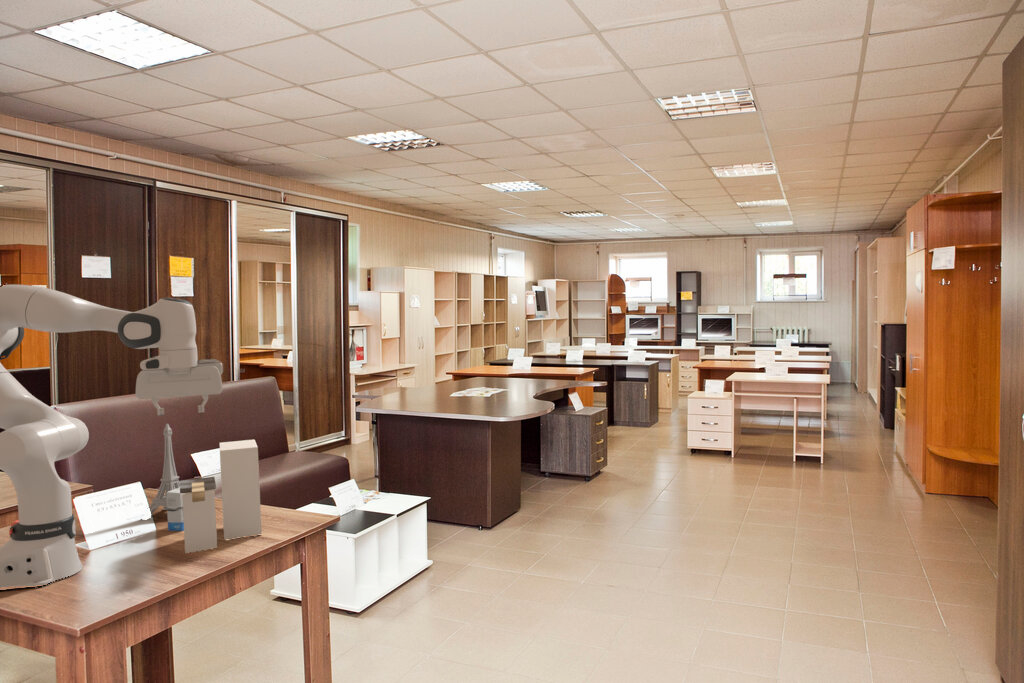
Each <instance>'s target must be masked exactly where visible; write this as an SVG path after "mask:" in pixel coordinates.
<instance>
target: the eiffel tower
mask: <svg viewBox="0 0 1024 683" xmlns="http://www.w3.org/2000/svg"><path fill="white" fill-rule="evenodd" d="M172 430H173V429H172V428H171V427H170V424H169V423H166V424H165V427H164V428H163V433H162V436H164V458H163V459H164V460H163V469H162V477H161V478H160V480H159V481H161V483H160V485H159V489H158V491H157V493H156V495H155V498H151V501H152V502H151V503H150V505H149V506H148V508H150V511H151V514H152V515H153V514H154V512H155V511H156V510H157V509H158V508H159V507H163V508H162V509H161V511H162V510H167V494H166V493H167V492H168V491H171V490H174V489H176V488H179V487H180V480H179V479H180V476H179V475H178V472H177V470H176V463H175V459H174V452H173V442H172V435H173V431H172Z"/></svg>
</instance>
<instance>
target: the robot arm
mask: <svg viewBox="0 0 1024 683" xmlns="http://www.w3.org/2000/svg"><path fill="white" fill-rule="evenodd" d="M195 313H196V312H195V309H194V305H193V304H192V303H191V302H190V301H189V300H186V299H182V298H173V297H162V298H160V299H159V300H157V301H156V302H155V303H154V304H152V305H150V306H148V307H146V308H143V309H140V310H136V311H129V310H125V309H118V308H115V307H109V306H104V305H101V304H98V303H95V302H92V301H88V300H86V299H83V298H80V297H77V296H74V295H72V294H68V293H66V292H64V291H59V290H56V289H52V288H47V287H43V286H36V285H28V284H6V285H3V286H0V361H1V360H5V359H7V358H8V357H9V356H10V355H11V353H12V352H13V351H14V350H16V349H17V348H18V347H19V346H20V344H21V343H22V342H23V339H24V337H25V329H28V330H33V331H38V332H45V333H60V334H61V333H77V332H87V331H104V332H112V333H117V336H118V338H119V340H120V341H121V343H122V344H123V345H125V346H126V347H127V348H131V349H135V350H137V349H138V350H145V349H157V348H158V349H159V350H158V352H159V354H158V355H156V356H155V355H154V356H152V357H150V358H148V359H144V360H142V361H140V364H139V367H140V369H141V371H139V373H138V374H137V377H136V382H135V397H136V398H138V400H145V399H146V400H148V399H150V400H151V403H152V405H153V406H154V408H156V409H155V410H156V411H157V412H156V413H157V415H156V416H157V417H159V416H165V407H161V406H160V405H159V404H158V403H159V402H160V401H159V399H164V398H177V397H178V398H179V397H192V396H193V397H195V396H202V399H203V401H202V403H201V405H199V404H198V405H197V409H198V410H197V411H198V412H197V413H198V414H199V413H201V414H202V413H205V406H206V404H207V402H208V401H209V396H210V395H220V394H221V393H222V392H223V390H224V389H223V381H222V375H223V372H224V364H223V363H222V361H220V360H217V358H210V359H198V358H199V357H198V356H199V355H198V346H197V343H196V335H197V323H196V322H197V320H196V314H195ZM0 429H3V431H1V432H0V470H1V471H2V472H4V473H5V474H6V475H7V476H8V478H9V479H10V481H11V483H12V485H13V487H14V490H15V493H16V499H17V511H18V519H16V520H14V521H13V522H12V523H11V526H10V527H9V530H8V532H9V533H8V535H9V537H10V539H9V540H8V541H6V542H5V543H4V544H3V545H1V546H0V588H1V587H9V586H36V585H45V584H47V583H50V582H52V581H54V582H56V581H55V580H57V579H60V580H62V579H61V578H63V579H66V578H69V577H71V576H73V575H75V574H77V573H79V572H80V571H81V570H83V566H84V565H83V564H82V562H81V559H80V555H79V553H78V549H77V545H76V538H75V536H76V530H77V528H76V518H75V514H74V513H73V510H72V509H73V505H72V489H71V486H70V483H69V482H68V481H66V480H65V479H63V478H61V477H60V476H59V474H58V472H57V470H56V467H55V462H57V461H61V460H62V461H63V460H65V459H68V458H70V457H72V456H74V455H75V454H77V453H79V452H80V451H81V450H83V449H84V448H85V447H86V446H87V444H88V442H89V438H90V433H89V429H88V427H87V425H86V424H85V422H83V421H82V420H81V419H79V418H76V417H72V416H69V415H67V414H64V413H62V412H59V411H58V410H57V409H55V408H52V407H51V406H49V405H48V404H46V403H44V402H43V401H42V400H40V399H38V398H37V397H35V395H32V393H30V391H28V389H26V387H24V386H23V385H22V384H21V383H20V382H19V380H17V379H16V377H14V376H13V374H11V373H10V372H9V370H7V369H6V368H5V367H4V365H3V364H2V363H1V362H0ZM68 576H69V577H68ZM65 577H66V578H65ZM57 581H58V580H57ZM52 583H53V582H52ZM50 584H51V583H50Z"/></svg>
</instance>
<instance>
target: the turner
mask: <svg viewBox="0 0 1024 683" xmlns="http://www.w3.org/2000/svg"><path fill="white" fill-rule="evenodd" d="M215 478H216V477H215V476H208V477H201V478H190V479H181V480H179V482H180V493H188V492H192V502H199V501H205V490H212V489H214V490H217V484H216V479H215Z"/></svg>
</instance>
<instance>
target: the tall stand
mask: <svg viewBox="0 0 1024 683" xmlns="http://www.w3.org/2000/svg"><path fill="white" fill-rule="evenodd" d="M219 458H220V459H219V460H220V463H219V464H220V482H221V484H220V485H221V486H220V487H221V503H222V504H221V505H222V509H221V510H222V526H223V527H222V530H223V537H224V538H223V539H224V540H226V539H232V538H237V537H243V536H251V535H258V534H262V512H261V488H260V468H259V467H260V466H259V446H258V445H257V442H256V440H255V439H254V438H253V439H245V440H236V441H235V440H234V441H223V442H219Z"/></svg>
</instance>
